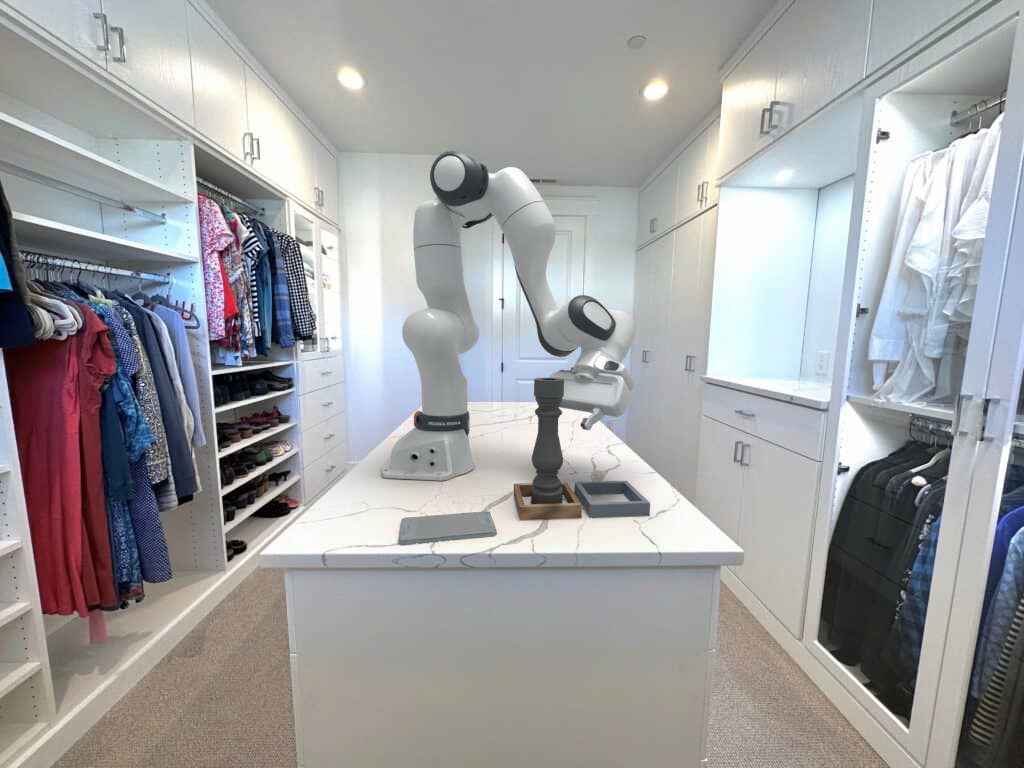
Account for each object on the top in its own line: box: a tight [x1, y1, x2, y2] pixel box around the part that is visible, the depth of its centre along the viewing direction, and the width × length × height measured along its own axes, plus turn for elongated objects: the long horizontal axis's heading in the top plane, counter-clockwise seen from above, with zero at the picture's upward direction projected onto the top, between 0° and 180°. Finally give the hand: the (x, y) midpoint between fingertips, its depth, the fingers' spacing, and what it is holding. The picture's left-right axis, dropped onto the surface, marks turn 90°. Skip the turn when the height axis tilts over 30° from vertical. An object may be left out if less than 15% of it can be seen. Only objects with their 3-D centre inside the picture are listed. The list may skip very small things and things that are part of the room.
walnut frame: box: [513, 481, 583, 521], centre depth 78 cm, size 11×11×2 cm
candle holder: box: [530, 377, 564, 504], centre depth 76 cm, size 6×6×25 cm
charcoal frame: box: [573, 480, 651, 519], centre depth 79 cm, size 11×11×2 cm
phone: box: [398, 510, 498, 546], centre depth 68 cm, size 8×16×1 cm, turn 102°
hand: (565, 424), depth 80 cm, fingers open, 8 cm apart
